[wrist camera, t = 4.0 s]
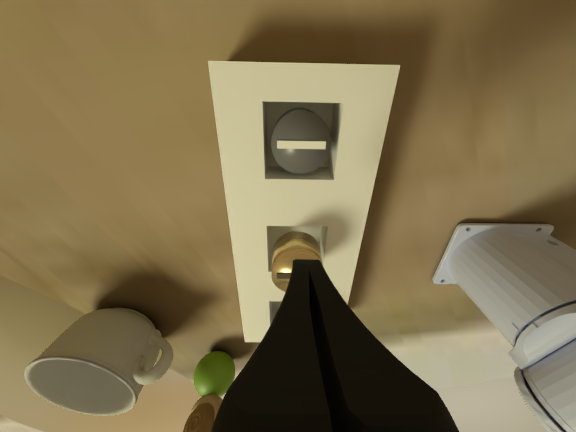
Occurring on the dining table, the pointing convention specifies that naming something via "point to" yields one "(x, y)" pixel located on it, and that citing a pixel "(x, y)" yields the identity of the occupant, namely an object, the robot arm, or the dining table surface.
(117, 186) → the dining table surface
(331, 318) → the robot arm
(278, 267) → the knob brass
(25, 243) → the dining table surface
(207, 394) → the snail figurine
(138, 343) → the teacup
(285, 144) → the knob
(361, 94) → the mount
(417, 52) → the dining table surface
